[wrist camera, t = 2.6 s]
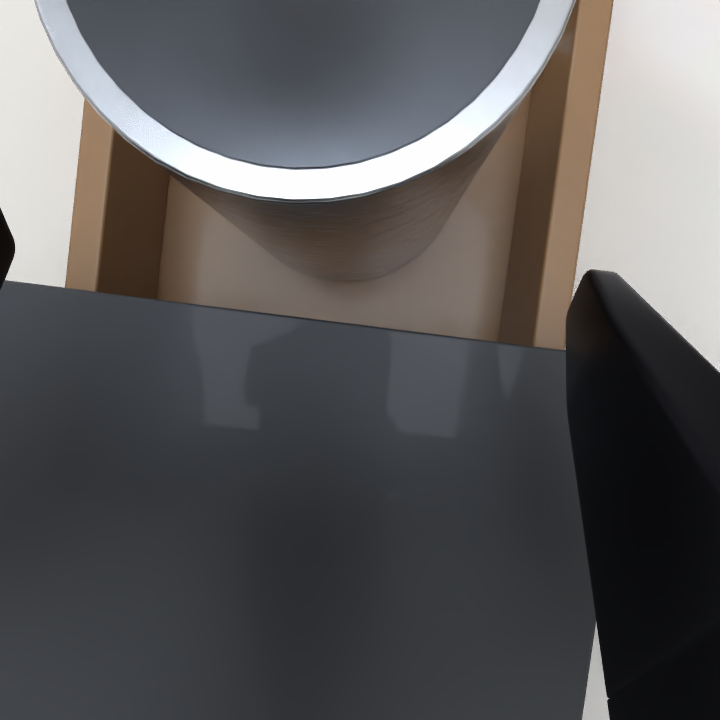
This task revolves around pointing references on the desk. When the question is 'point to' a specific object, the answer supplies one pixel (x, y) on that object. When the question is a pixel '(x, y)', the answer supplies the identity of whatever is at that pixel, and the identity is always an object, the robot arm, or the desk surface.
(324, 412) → the organizer
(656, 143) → the desk surface
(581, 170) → the drawer
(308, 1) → the steel cup
